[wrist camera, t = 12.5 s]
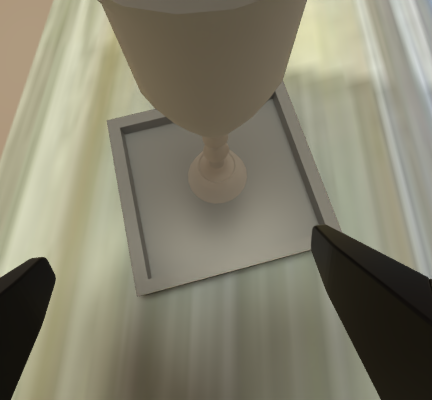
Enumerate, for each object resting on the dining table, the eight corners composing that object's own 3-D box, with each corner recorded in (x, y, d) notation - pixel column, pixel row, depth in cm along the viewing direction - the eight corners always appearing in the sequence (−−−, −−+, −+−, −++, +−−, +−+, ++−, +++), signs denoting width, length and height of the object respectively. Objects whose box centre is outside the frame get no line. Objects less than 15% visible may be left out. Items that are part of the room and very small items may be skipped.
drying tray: (334, 243, 23) (345, 240, 21) (144, 294, 22) (136, 296, 20) (277, 92, 27) (282, 78, 25) (115, 132, 26) (106, 120, 24)
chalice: (199, 230, 22) (118, 71, 5) (161, 163, 24) (4, -128, 7) (274, 187, 23) (428, -77, 6) (233, 125, 25) (258, -221, 8)
